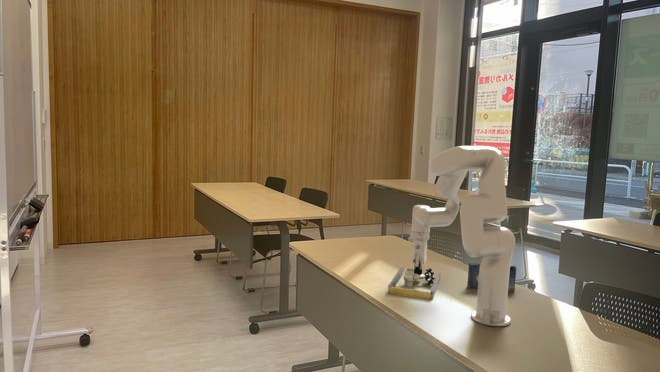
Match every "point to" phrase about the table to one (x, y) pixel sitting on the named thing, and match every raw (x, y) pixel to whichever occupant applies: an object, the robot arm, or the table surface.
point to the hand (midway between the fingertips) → (417, 278)
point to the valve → (417, 277)
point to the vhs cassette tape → (474, 277)
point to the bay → (410, 292)
